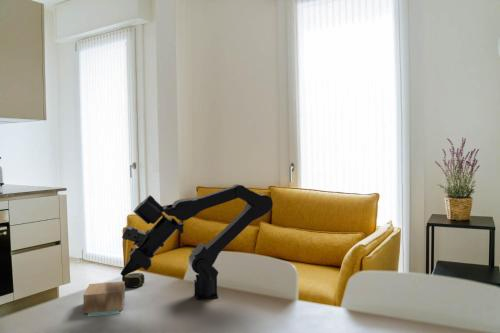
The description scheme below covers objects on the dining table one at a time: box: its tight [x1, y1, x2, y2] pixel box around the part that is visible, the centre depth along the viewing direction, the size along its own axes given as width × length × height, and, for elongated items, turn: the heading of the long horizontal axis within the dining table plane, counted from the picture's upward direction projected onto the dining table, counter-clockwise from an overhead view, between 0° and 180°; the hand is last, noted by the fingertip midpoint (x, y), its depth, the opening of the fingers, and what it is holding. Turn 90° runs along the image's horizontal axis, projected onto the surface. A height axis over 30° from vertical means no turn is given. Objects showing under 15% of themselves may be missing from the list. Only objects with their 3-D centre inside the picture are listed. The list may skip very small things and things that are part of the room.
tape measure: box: [121, 272, 145, 288], centre depth 135 cm, size 7×7×4 cm
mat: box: [87, 310, 121, 318], centre depth 117 cm, size 8×14×1 cm, turn 13°
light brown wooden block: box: [83, 280, 126, 314], centre depth 117 cm, size 5×10×10 cm
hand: (121, 274), depth 118 cm, fingers closed
